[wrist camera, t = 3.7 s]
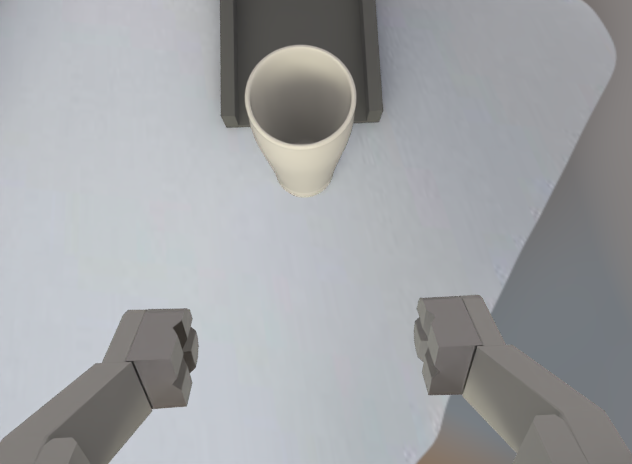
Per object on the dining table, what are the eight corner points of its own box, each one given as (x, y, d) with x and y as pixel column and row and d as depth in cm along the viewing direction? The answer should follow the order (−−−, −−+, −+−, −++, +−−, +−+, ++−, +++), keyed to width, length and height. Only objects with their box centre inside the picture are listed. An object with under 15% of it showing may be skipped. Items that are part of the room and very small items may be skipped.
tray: (378, 122, 41) (383, 110, 38) (226, 127, 41) (221, 116, 38) (367, -39, 44) (371, -60, 41) (225, -35, 43) (219, -55, 41)
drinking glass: (268, 136, 41) (243, 41, 26) (340, 136, 41) (357, 42, 26) (267, 206, 40) (241, 150, 25) (341, 206, 40) (359, 150, 25)
